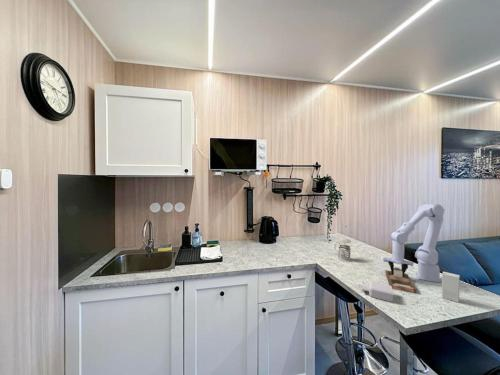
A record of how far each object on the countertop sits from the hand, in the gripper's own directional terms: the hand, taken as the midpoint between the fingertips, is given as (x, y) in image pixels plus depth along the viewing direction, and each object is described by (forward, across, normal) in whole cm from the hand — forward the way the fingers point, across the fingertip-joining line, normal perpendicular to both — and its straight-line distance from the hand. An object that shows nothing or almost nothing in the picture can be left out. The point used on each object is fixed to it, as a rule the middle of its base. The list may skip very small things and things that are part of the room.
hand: (397, 275), depth 124 cm
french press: (+2, -30, +18) cm, 35 cm away
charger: (+2, -14, -27) cm, 31 cm away
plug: (+1, 0, 0) cm, 1 cm away
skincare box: (+2, +19, -15) cm, 24 cm away
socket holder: (+1, 0, -6) cm, 6 cm away
